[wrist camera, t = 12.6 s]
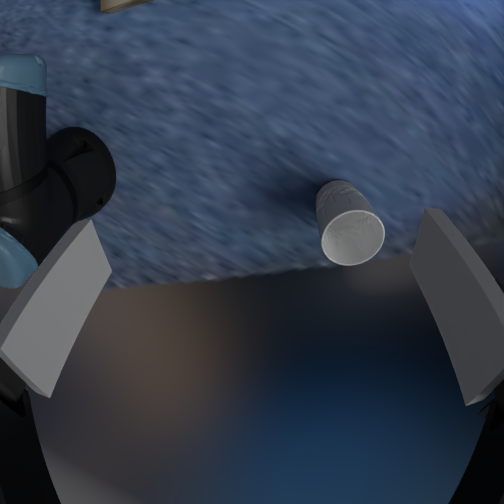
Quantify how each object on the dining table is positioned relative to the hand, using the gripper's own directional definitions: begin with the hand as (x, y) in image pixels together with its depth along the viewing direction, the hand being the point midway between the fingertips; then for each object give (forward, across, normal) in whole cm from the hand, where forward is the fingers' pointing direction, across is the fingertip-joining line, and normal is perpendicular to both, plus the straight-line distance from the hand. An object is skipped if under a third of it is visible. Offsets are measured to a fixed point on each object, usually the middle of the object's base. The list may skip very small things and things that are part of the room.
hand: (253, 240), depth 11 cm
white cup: (+29, +10, -13) cm, 33 cm away
